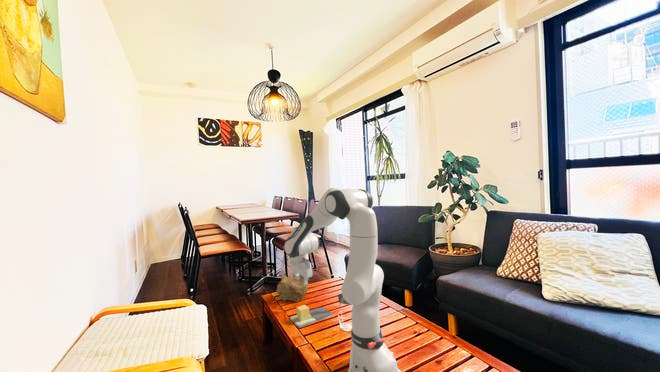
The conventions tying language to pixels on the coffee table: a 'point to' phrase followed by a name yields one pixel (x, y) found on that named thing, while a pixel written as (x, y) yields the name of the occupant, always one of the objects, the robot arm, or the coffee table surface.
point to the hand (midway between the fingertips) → (301, 281)
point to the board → (313, 317)
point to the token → (302, 313)
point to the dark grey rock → (342, 299)
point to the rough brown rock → (292, 288)
